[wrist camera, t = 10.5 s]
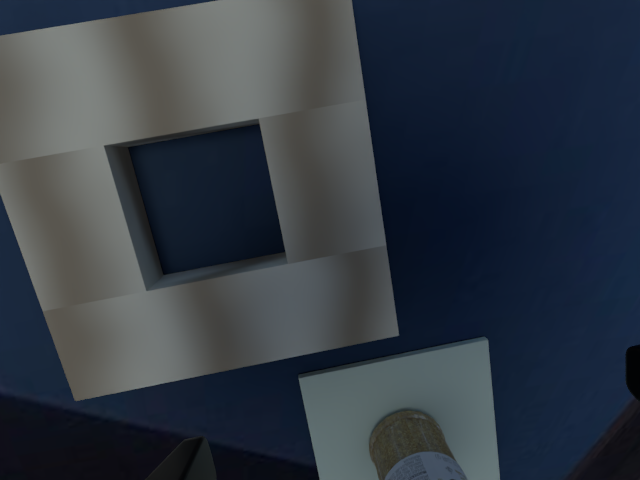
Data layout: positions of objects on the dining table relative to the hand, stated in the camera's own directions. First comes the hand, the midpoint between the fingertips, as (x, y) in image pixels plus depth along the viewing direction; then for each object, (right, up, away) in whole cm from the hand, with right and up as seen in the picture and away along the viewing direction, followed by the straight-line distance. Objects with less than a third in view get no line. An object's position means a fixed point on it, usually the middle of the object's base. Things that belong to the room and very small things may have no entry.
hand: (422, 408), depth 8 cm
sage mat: (+3, -8, +15) cm, 18 cm away
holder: (-8, +5, +12) cm, 15 cm away
